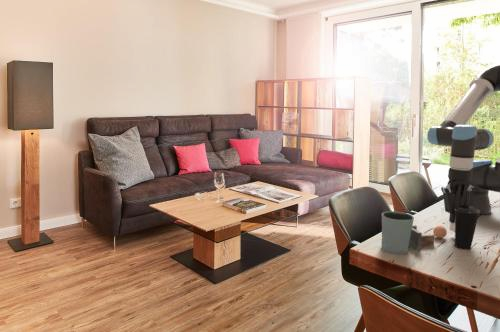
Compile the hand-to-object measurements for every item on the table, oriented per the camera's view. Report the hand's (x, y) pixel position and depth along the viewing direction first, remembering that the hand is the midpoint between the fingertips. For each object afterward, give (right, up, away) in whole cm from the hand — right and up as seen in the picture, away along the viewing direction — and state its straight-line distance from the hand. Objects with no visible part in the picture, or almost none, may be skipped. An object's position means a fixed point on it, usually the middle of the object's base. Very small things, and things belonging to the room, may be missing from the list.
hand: (453, 230), depth 147 cm
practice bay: (-16, -3, -5) cm, 17 cm away
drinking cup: (-2, -4, -9) cm, 10 cm away
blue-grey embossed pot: (-26, -5, -11) cm, 29 cm away
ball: (-6, 0, -1) cm, 6 cm away
